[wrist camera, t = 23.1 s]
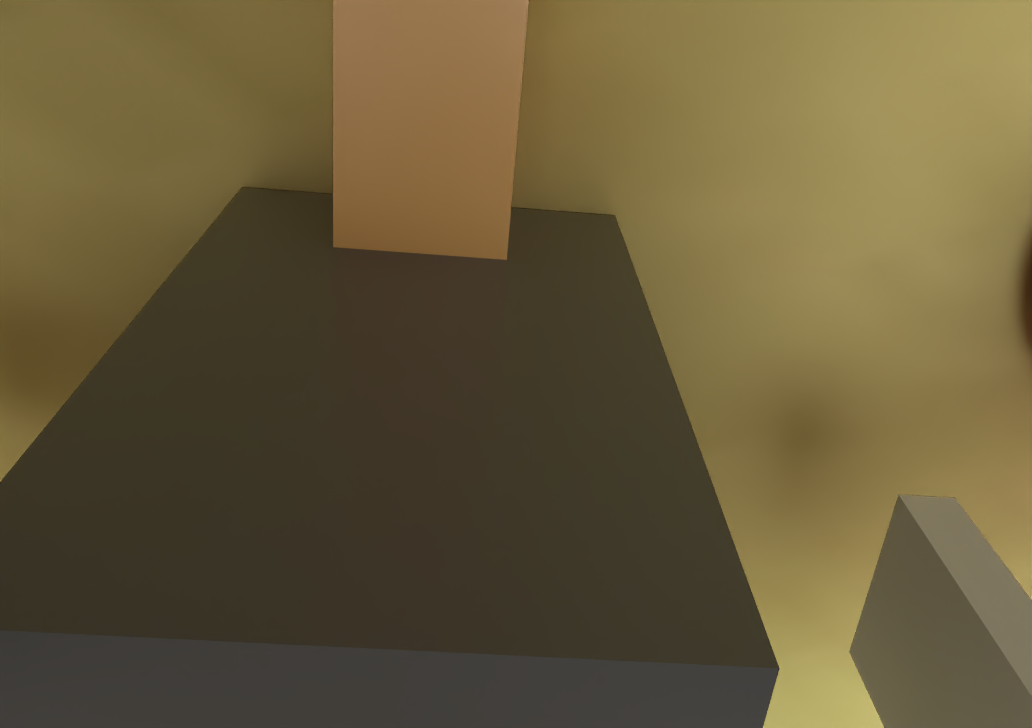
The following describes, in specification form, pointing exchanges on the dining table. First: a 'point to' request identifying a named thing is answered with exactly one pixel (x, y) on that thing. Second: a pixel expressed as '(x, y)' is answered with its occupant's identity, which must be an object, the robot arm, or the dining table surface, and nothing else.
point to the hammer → (383, 453)
